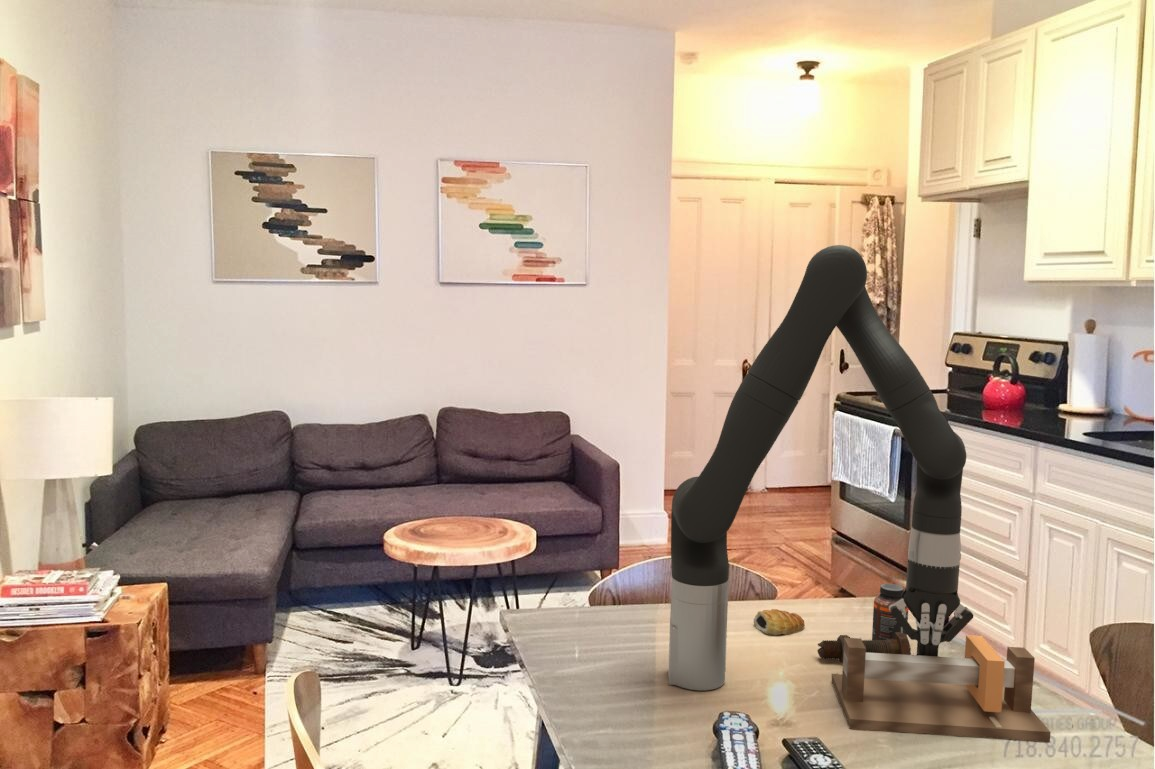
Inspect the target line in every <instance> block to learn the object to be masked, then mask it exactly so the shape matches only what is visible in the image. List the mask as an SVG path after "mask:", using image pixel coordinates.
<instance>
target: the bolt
mask: <svg viewBox="0 0 1155 769" xmlns="http://www.w3.org/2000/svg"><path fill="white" fill-rule="evenodd" d="M844 638H851V637H850V636H849V635H847V634H840V635H838V637H837V638H836V639H837V640H836V639H835V640H834V639H833V640H828V639H827V640H822V641H820V642H818V643H817V646H818V647H819V648H818V649H817V654H818V656H819V657H820V658H821V659H822V660H838V662H840V663H841V664H842V665H843V651H844ZM861 640H862V642H863V644H864V646H865V648H866V652H867V653H885V654H902V655H912V652H911V651H912V650H911V649H912V648H911V644H910V640H909V636H908V635H907V636H906V635H905V634H904V633H902V632H895V634H894V638H893V639H887V640H872V639H871V640H870V639H861Z"/></svg>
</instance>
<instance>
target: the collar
mask: <svg viewBox="0 0 1155 769" xmlns="http://www.w3.org/2000/svg"><path fill="white" fill-rule="evenodd" d="M964 645H965V646H964V658H972V659H975V660H976V661H977V662H978V663H979V665H980V669H979V684H978V686H976V685H965V686H966V687H967V689H968V690H969V691H970V693H971V694H972V695H973V697H974V698H975V700H976V701H977V702H978V704H979V705H980V706H981V708H982V709H983V710H984V711H987V712H1001V708H1002V693H1003V679H1004V664H1005V661H1004V659H1003V657H1001V655H1000V654H998V652H997V651H996V650H995V649H994V648H993V646H991V644H990V643H989V642H988V641H987V640H986V638H984V637H983V635H975V634H973V635H970V634H966V635H965V643H964Z"/></svg>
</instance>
